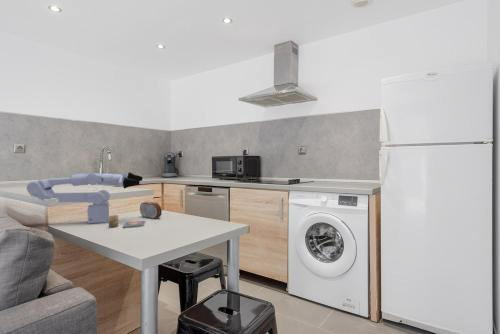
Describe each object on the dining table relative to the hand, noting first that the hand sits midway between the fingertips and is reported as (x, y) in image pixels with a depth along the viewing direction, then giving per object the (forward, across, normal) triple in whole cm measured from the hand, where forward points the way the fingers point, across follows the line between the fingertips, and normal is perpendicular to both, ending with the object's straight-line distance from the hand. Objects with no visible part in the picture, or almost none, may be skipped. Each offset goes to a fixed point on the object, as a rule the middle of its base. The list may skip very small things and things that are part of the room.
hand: (140, 180), depth 147 cm
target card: (0, -17, +17) cm, 24 cm away
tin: (+6, -2, +20) cm, 21 cm away
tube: (-9, -18, +18) cm, 27 cm away
